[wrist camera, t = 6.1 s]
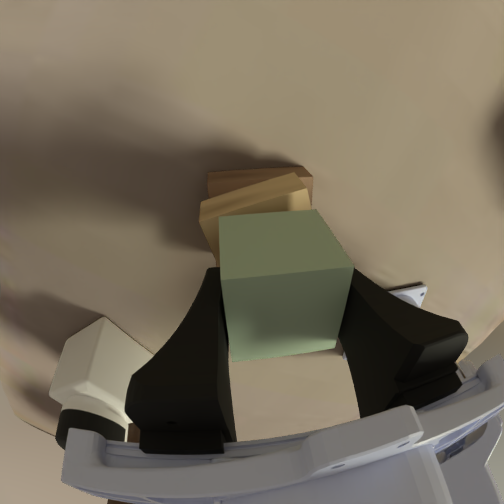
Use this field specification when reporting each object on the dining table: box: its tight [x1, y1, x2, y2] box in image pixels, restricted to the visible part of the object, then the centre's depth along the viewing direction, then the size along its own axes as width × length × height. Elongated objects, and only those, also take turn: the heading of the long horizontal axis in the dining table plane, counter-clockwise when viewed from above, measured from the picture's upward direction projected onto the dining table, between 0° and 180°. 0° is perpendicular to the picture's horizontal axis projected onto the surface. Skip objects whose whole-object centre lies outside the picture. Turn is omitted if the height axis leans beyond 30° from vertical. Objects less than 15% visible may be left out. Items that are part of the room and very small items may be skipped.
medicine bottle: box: [49, 317, 154, 450], centre depth 20 cm, size 7×7×12 cm
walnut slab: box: [207, 167, 313, 267], centre depth 18 cm, size 6×6×2 cm
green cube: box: [219, 209, 354, 362], centre depth 12 cm, size 4×4×4 cm
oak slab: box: [199, 172, 312, 267], centre depth 16 cm, size 6×6×2 cm
